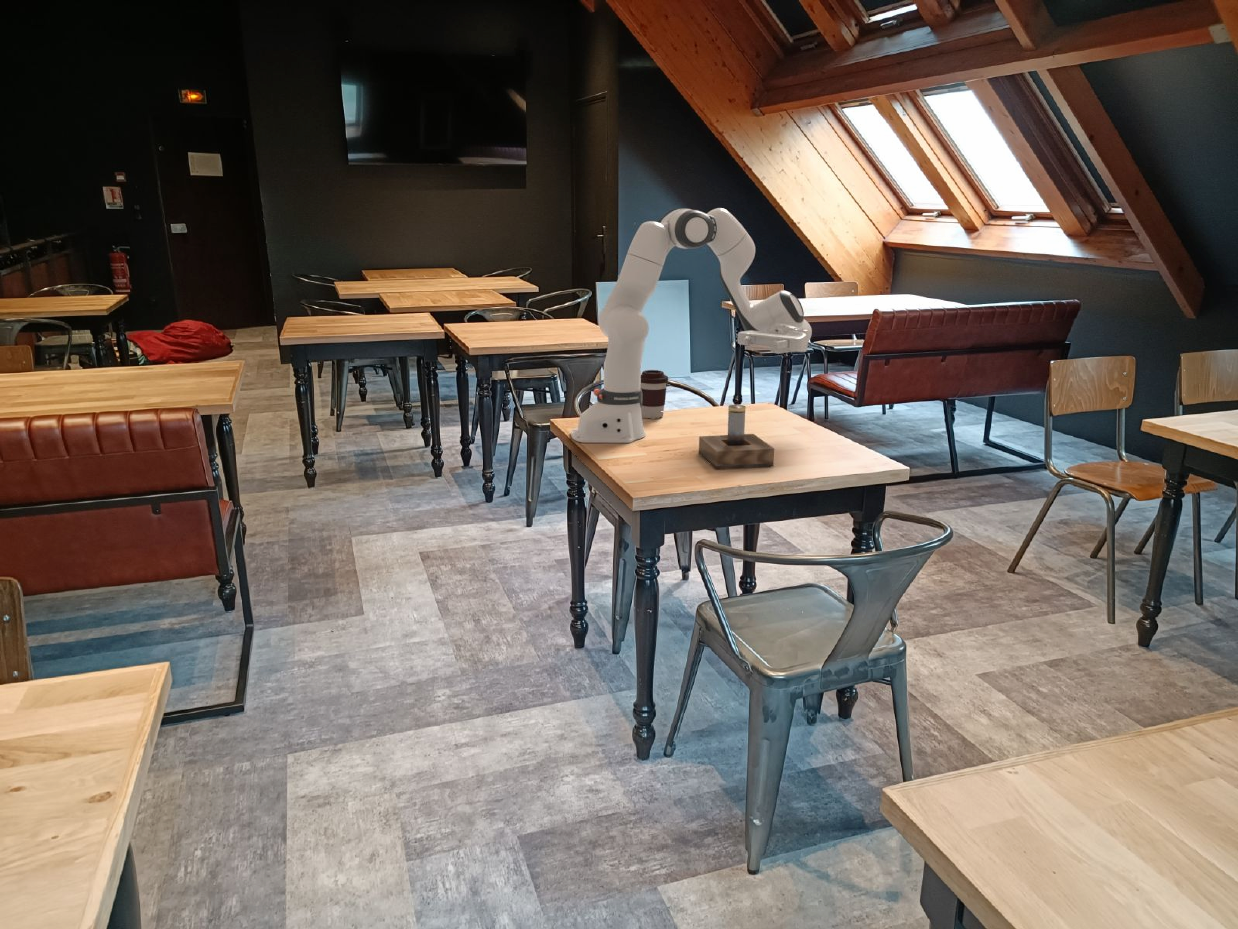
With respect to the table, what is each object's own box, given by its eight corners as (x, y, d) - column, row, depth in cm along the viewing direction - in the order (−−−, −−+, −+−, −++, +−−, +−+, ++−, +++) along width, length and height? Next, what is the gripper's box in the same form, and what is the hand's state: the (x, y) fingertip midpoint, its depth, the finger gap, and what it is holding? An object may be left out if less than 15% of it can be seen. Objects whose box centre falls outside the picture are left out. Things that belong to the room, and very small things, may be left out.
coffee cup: (631, 414, 295) (632, 370, 291) (657, 412, 299) (658, 367, 295) (646, 421, 287) (646, 375, 282) (672, 418, 291) (673, 373, 287)
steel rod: (729, 459, 241) (731, 408, 237) (724, 454, 246) (726, 405, 242) (745, 458, 242) (748, 408, 238) (740, 453, 247) (742, 404, 243)
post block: (716, 469, 235) (717, 451, 234) (698, 453, 250) (699, 436, 249) (773, 466, 238) (774, 448, 237) (752, 450, 253) (753, 433, 252)
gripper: (749, 324, 269) (728, 328, 258) (813, 330, 258) (794, 335, 247) (748, 345, 271) (727, 350, 260) (811, 352, 260) (792, 358, 249)
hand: (760, 343), depth 254 cm, fingers open, 8 cm apart
